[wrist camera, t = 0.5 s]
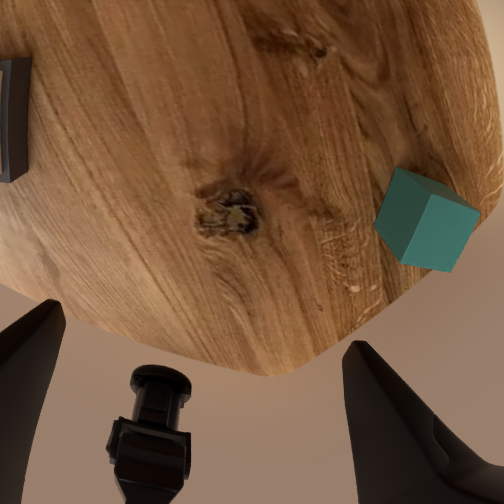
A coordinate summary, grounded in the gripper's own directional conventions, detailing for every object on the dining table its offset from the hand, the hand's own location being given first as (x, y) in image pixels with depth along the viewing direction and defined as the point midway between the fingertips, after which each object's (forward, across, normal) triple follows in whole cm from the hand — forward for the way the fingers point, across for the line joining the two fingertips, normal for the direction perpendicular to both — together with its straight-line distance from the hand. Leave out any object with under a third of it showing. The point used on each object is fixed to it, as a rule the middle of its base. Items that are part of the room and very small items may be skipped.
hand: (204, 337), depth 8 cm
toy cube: (+14, -14, -1) cm, 19 cm away
